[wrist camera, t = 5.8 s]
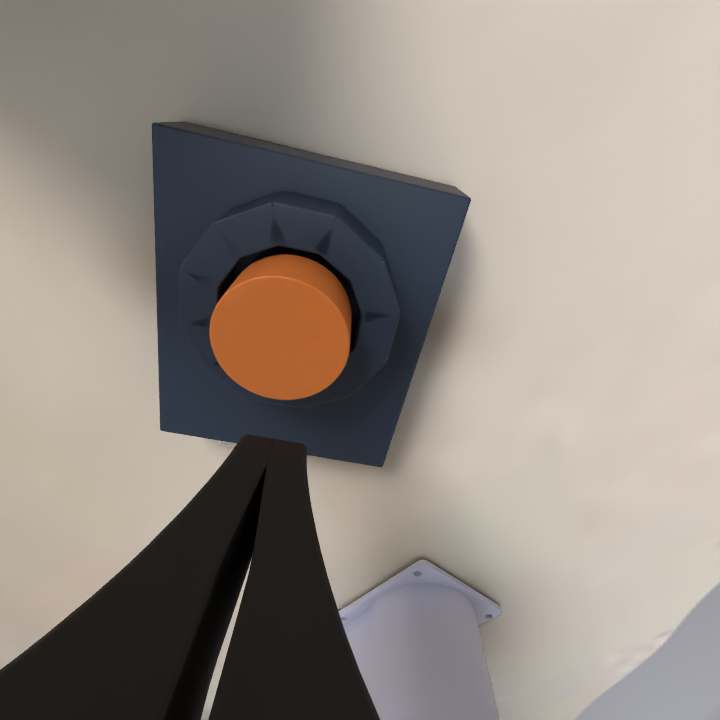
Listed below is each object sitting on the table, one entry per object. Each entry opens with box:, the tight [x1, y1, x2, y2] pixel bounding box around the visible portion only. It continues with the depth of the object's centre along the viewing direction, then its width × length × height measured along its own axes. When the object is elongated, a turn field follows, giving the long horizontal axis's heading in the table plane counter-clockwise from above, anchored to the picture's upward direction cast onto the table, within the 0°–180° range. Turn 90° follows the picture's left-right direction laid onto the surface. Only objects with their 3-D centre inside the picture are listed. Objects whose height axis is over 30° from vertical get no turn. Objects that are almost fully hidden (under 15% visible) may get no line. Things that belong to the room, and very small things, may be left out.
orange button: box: [209, 254, 352, 400], centre depth 13 cm, size 4×4×2 cm
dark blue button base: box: [152, 122, 471, 467], centre depth 16 cm, size 12×10×4 cm
